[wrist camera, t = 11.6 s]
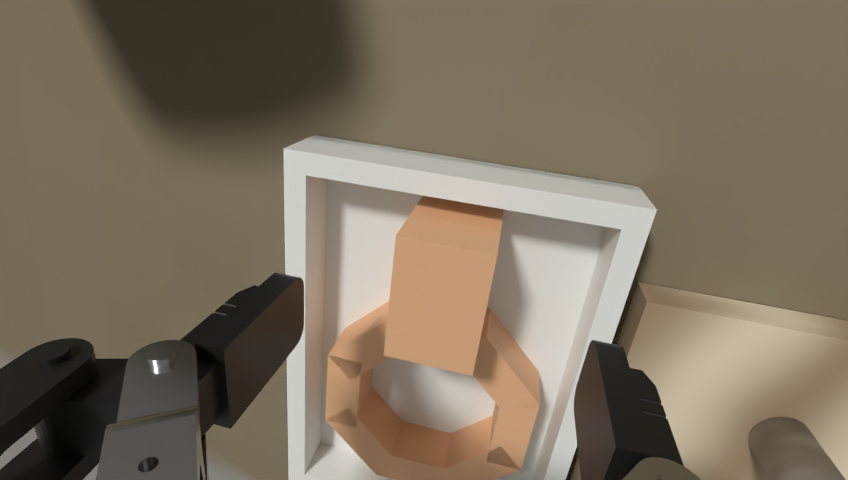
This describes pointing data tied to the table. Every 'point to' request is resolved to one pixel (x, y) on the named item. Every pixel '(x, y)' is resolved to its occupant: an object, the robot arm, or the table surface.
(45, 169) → the table surface
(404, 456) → the terracotta ring
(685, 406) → the stake board
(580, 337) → the white tray
